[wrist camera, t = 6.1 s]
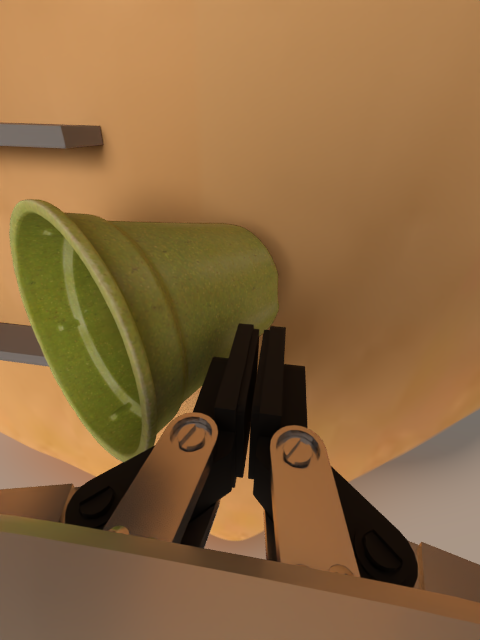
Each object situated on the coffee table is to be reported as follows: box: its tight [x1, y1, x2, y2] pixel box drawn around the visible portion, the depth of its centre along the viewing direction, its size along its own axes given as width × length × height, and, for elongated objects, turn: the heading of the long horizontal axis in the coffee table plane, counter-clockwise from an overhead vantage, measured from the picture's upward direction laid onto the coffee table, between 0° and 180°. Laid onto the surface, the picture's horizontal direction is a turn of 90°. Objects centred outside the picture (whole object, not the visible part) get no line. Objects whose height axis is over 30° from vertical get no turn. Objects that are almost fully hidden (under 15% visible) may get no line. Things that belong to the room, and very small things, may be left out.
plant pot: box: [9, 199, 279, 462], centre depth 14 cm, size 9×9×9 cm
